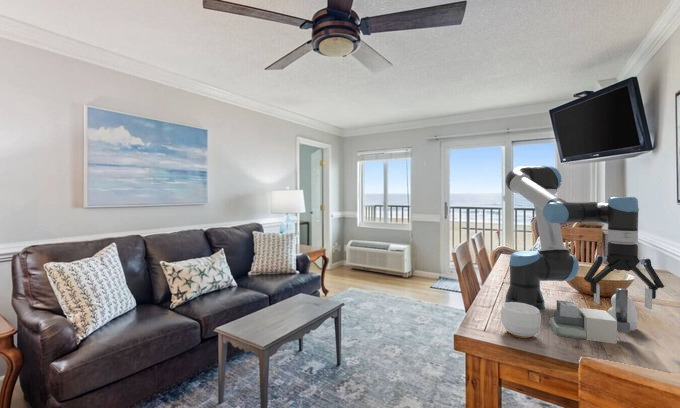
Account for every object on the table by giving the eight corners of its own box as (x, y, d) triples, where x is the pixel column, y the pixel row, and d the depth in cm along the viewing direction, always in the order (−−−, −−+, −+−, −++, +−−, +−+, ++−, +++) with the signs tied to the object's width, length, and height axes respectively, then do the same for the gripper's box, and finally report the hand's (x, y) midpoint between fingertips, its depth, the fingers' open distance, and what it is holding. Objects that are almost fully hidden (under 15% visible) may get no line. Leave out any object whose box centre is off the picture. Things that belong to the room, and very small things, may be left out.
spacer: (560, 315, 109) (560, 304, 109) (556, 311, 114) (556, 300, 113) (577, 318, 107) (577, 306, 107) (573, 312, 112) (573, 302, 111)
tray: (556, 335, 107) (556, 327, 107) (550, 324, 117) (550, 317, 117) (585, 339, 104) (586, 331, 104) (576, 327, 113) (576, 320, 113)
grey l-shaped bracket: (555, 323, 110) (556, 284, 110) (553, 320, 113) (554, 282, 113) (629, 333, 102) (630, 291, 102) (625, 329, 105) (626, 288, 105)
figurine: (623, 322, 118) (623, 291, 118) (643, 330, 110) (643, 297, 110) (605, 322, 118) (605, 291, 118) (624, 331, 110) (624, 298, 110)
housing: (586, 339, 104) (586, 317, 104) (577, 327, 113) (577, 307, 113) (616, 344, 101) (617, 321, 101) (604, 331, 110) (605, 310, 110)
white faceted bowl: (498, 325, 116) (498, 299, 116) (536, 330, 112) (536, 303, 112) (502, 339, 105) (503, 311, 105) (545, 345, 100) (545, 316, 100)
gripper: (580, 242, 105) (580, 304, 105) (679, 246, 95) (678, 314, 95) (573, 239, 112) (573, 297, 112) (665, 242, 102) (664, 306, 102)
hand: (621, 305), depth 104 cm, fingers open, 13 cm apart
